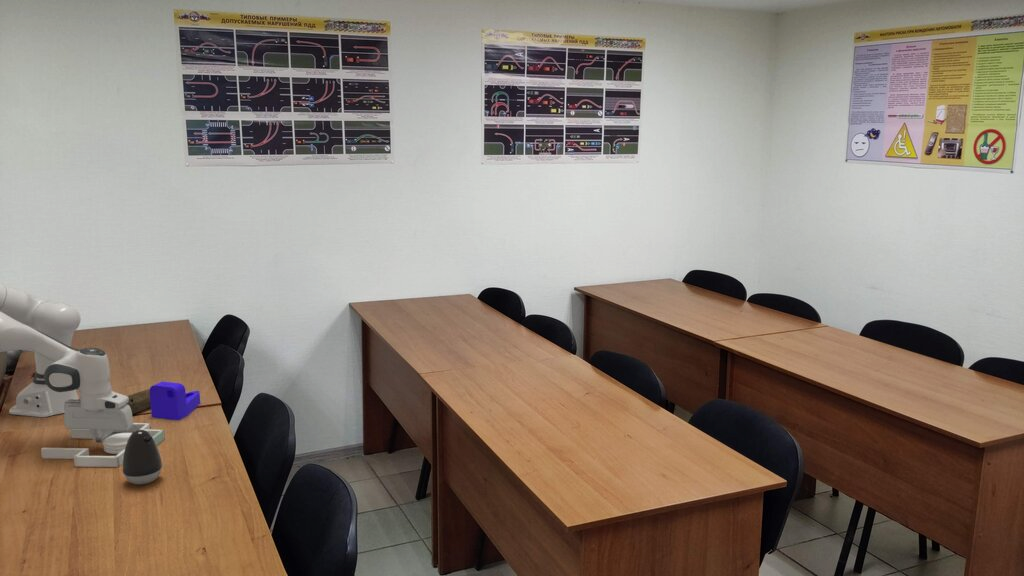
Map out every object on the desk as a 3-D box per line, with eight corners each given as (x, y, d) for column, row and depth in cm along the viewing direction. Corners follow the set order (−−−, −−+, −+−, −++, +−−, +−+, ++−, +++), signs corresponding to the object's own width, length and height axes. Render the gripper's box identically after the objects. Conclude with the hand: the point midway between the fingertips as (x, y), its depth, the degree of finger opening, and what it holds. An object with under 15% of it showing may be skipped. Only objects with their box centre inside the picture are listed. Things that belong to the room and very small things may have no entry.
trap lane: (31, 465, 239) (29, 456, 239) (82, 430, 267) (81, 422, 266) (131, 467, 239) (130, 457, 238) (172, 432, 266) (171, 423, 266)
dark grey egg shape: (138, 491, 223) (134, 440, 220) (116, 483, 228) (111, 432, 225) (171, 478, 231) (167, 428, 228) (148, 470, 237) (144, 421, 234)
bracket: (178, 420, 277) (176, 387, 275) (151, 417, 280) (149, 384, 278) (211, 403, 294) (208, 372, 292) (185, 400, 297) (183, 370, 295)
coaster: (146, 444, 256) (145, 434, 255) (122, 456, 246) (121, 445, 246) (121, 440, 259) (120, 430, 258) (96, 452, 250) (95, 441, 249)
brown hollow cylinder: (133, 418, 279) (131, 400, 278) (116, 416, 281) (115, 397, 280) (163, 404, 293) (162, 386, 292) (148, 402, 295) (146, 384, 294)
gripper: (57, 402, 247) (61, 445, 249) (123, 403, 246) (127, 446, 249) (69, 395, 253) (73, 437, 255) (133, 397, 252) (137, 438, 255)
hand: (100, 442), depth 252 cm, fingers closed
